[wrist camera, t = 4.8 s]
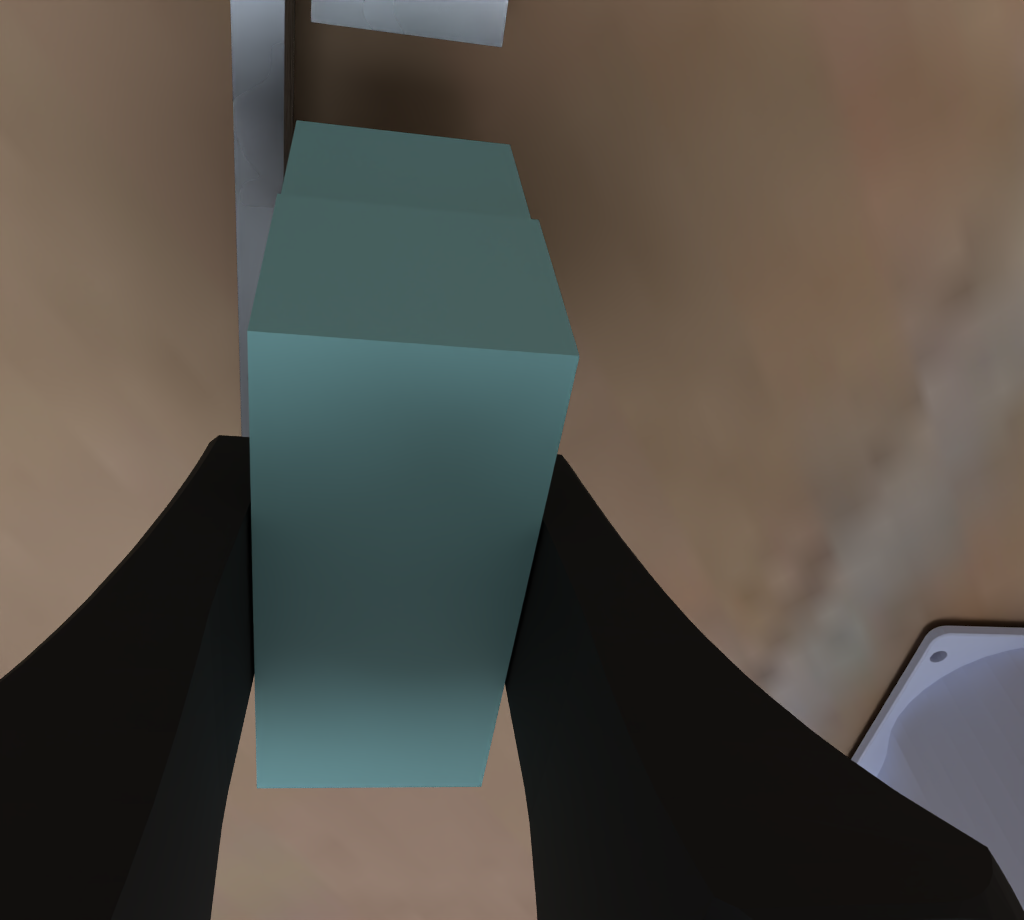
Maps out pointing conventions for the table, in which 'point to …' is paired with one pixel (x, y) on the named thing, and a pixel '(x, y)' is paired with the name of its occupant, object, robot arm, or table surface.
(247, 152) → the rail
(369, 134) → the clip
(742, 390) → the table surface
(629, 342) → the table surface
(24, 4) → the table surface
